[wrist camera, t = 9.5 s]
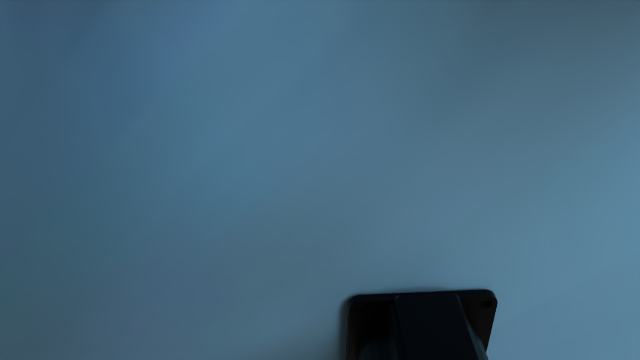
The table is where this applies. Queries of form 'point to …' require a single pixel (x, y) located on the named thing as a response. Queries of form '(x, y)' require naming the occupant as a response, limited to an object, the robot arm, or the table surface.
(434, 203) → the table surface
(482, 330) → the robot arm
